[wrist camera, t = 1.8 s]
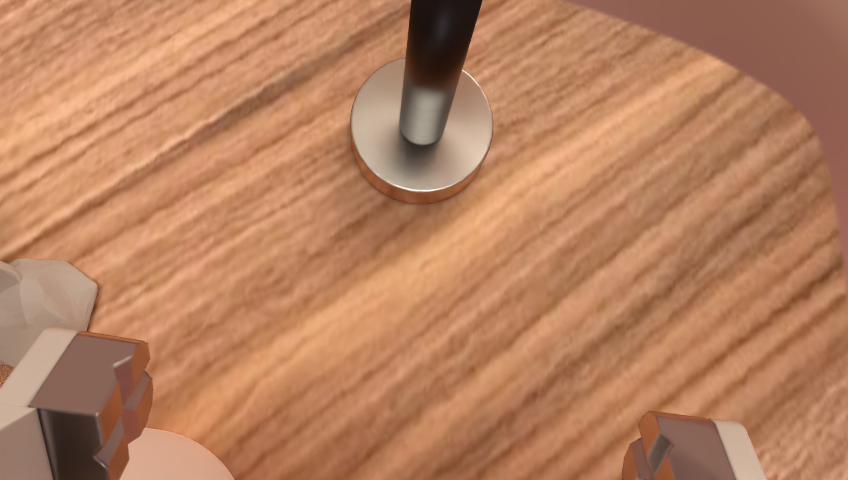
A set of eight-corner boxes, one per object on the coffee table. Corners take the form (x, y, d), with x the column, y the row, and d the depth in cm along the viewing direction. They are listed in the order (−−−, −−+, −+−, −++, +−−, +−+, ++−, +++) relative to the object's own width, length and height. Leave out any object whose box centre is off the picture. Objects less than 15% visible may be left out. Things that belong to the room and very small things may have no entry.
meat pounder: (482, 74, 30) (570, -166, 17) (489, 202, 30) (589, 59, 16) (350, 75, 30) (330, -171, 16) (352, 205, 29) (334, 60, 15)
